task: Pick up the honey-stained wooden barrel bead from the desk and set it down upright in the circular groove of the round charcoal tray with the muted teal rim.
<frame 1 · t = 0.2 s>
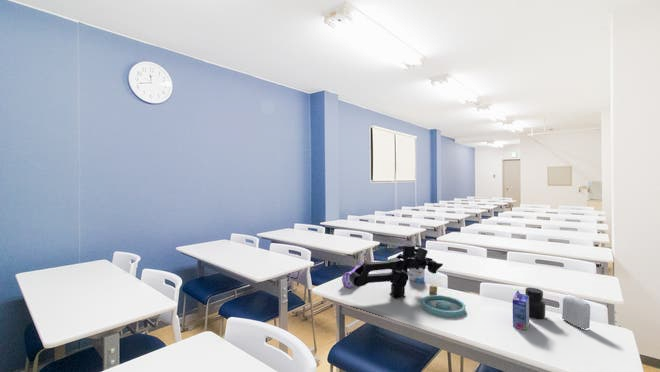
hand: (437, 262, 170), 17 cm above the table, tool horizontal, fingers open, 9 cm apart
photo printer: (575, 325, 132), on the table
ink box: (416, 280, 188), on the table
pencil case: (354, 283, 183), on the table
ink bottle: (533, 315, 141), on the table
ink cartridge box: (520, 324, 132), on the table
wooden bead: (433, 294, 165), on the table
round tray: (443, 307, 148), on the table
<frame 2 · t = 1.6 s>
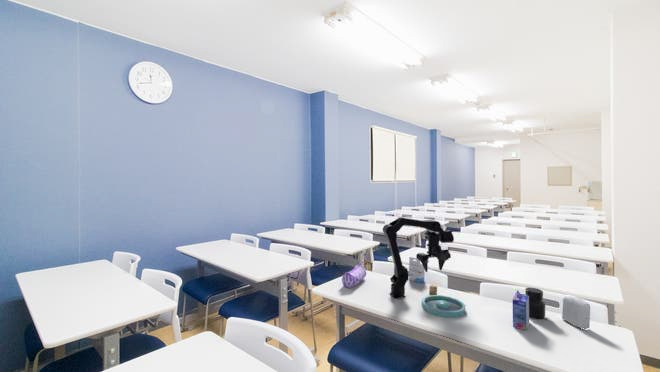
hand: (433, 271, 165), 13 cm above the table, tool pointing down, fingers open, 9 cm apart
nothing on the table moved.
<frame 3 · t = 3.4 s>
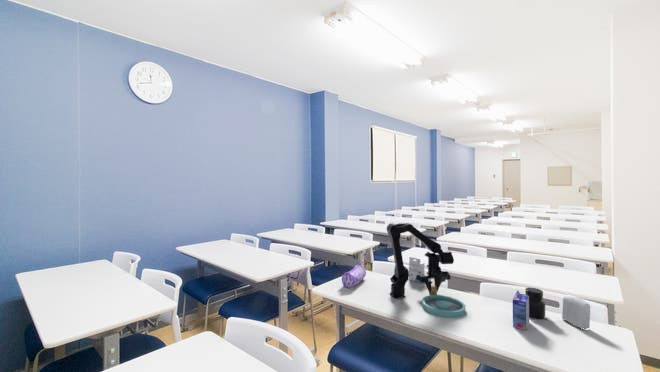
hand: (433, 292, 165), 1 cm above the table, tool pointing down, fingers closed on wooden bead, 4 cm apart
wooden bead: (433, 294, 165), on the table, touching gripper
everything else where it was.
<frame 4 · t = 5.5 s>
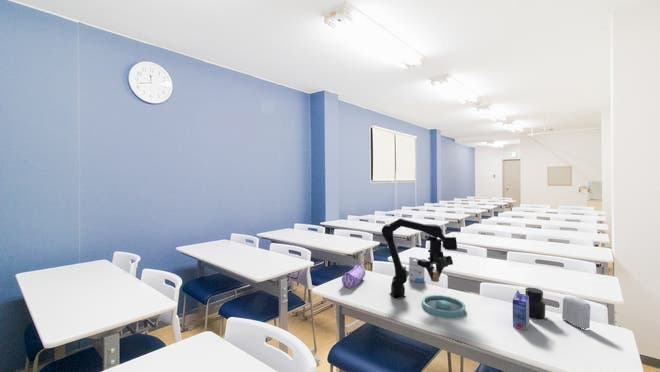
hand: (434, 278, 158), 11 cm above the table, tool pointing down, fingers closed on wooden bead, 4 cm apart
wooden bead: (434, 280, 158), point 10 cm above the table, touching gripper
everything else where it was.
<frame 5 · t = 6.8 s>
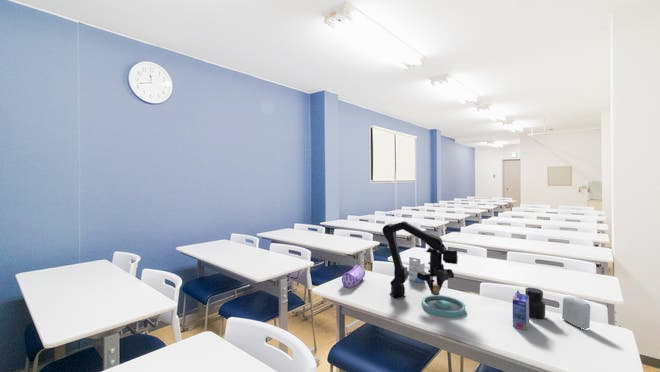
hand: (435, 291, 154), 6 cm above the table, tool pointing down, fingers closed on wooden bead, 4 cm apart
wooden bead: (435, 293, 154), point 5 cm above the table, touching gripper
everything else where it was.
when the fingers open (3 cm above the table, at t = 7.6 s): wooden bead drops 1 cm, resting on round tray.
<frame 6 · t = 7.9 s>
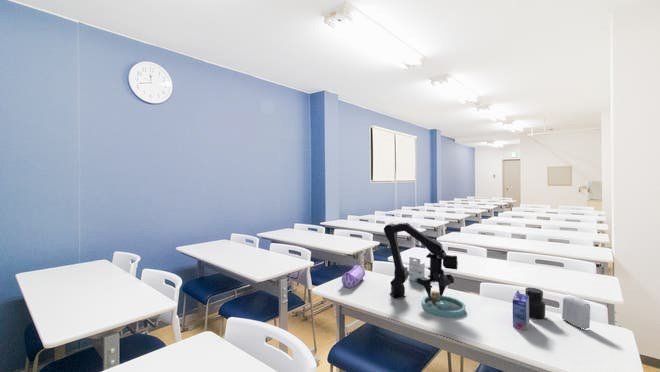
hand: (435, 296, 154), 3 cm above the table, tool pointing down, fingers open, 7 cm apart
wooden bead: (435, 301, 154), point 1 cm above the table, touching round tray
everything else where it was.
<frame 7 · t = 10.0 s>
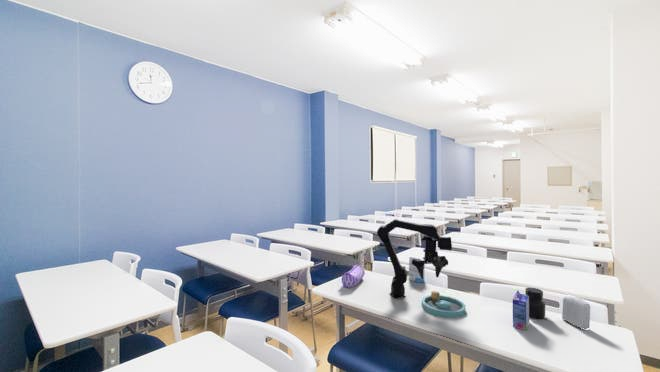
hand: (429, 277, 158), 11 cm above the table, tool pointing down, fingers open, 9 cm apart
nothing on the table moved.
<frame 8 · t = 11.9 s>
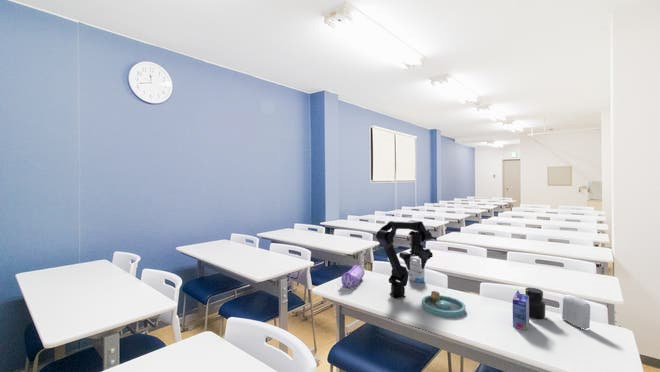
hand: (415, 269, 171), 12 cm above the table, tool pointing down, fingers open, 9 cm apart
nothing on the table moved.
at the end: wooden bead 0.4 cm from the target spot on the round tray, point 0.8 cm above the round tray's base; wooden bead tilted 0°; the gripper is holding nothing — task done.
